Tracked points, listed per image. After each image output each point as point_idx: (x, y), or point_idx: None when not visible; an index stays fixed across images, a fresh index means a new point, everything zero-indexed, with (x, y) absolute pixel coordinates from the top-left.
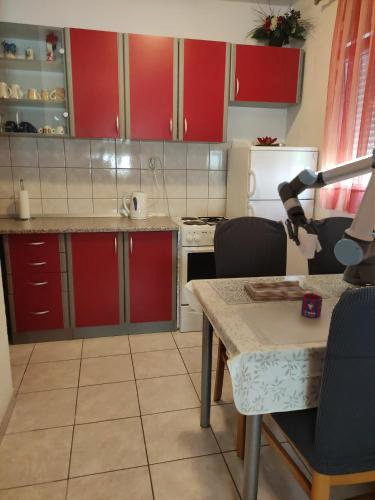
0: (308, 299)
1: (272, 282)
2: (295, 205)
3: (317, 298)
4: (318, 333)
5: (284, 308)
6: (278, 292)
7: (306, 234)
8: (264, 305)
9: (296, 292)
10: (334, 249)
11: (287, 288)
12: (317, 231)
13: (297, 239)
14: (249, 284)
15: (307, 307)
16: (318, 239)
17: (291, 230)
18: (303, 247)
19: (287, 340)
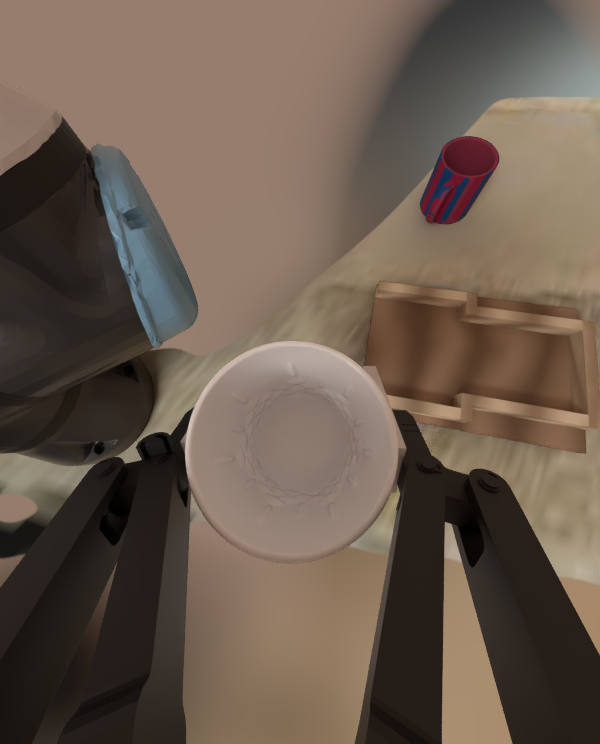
0: (491, 144)
1: (481, 401)
2: None
3: (441, 173)
4: (476, 134)
5: (497, 247)
6: (494, 310)
7: (243, 538)
8: (550, 274)
9: (437, 289)
10: (184, 301)
11: (422, 370)
12: (86, 509)
13: (412, 448)
14: (591, 400)
15: (477, 170)
16: (175, 433)
17: (537, 576)
18: (373, 377)
19: (556, 120)
